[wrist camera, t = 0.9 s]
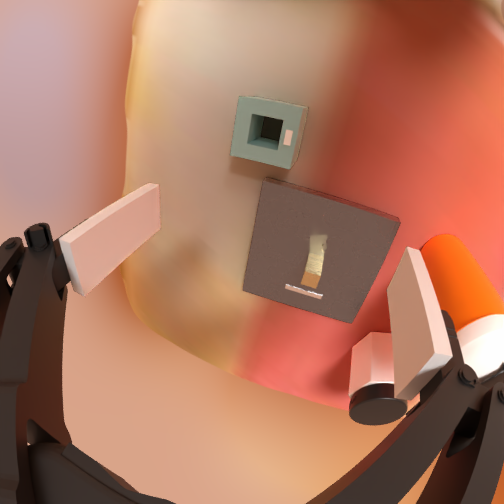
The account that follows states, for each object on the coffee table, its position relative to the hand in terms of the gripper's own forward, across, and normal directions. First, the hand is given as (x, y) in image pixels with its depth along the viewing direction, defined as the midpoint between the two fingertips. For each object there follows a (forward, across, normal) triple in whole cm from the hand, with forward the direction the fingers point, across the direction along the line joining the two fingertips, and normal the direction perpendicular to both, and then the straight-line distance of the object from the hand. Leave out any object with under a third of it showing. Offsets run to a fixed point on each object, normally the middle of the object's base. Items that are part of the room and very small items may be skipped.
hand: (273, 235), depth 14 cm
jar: (+19, +18, -25) cm, 36 cm away
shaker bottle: (+19, +19, -7) cm, 28 cm away
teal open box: (+19, -4, +3) cm, 19 cm away
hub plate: (+19, +3, -12) cm, 22 cm away
